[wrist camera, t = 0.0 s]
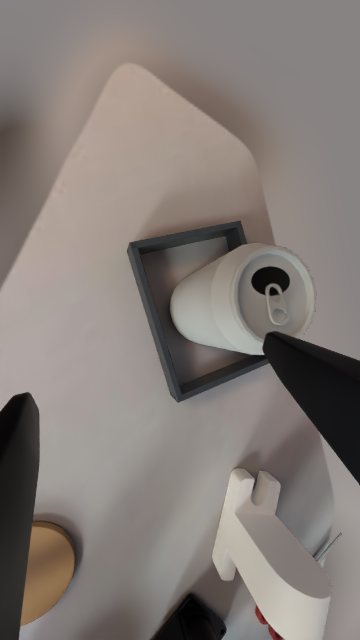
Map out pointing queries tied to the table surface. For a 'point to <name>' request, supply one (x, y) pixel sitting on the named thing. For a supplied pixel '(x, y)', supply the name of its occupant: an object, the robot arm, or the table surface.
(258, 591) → the white phone stand
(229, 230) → the dark grey rectangular frame
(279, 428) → the table surface
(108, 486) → the table surface
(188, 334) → the can
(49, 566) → the cork coaster
